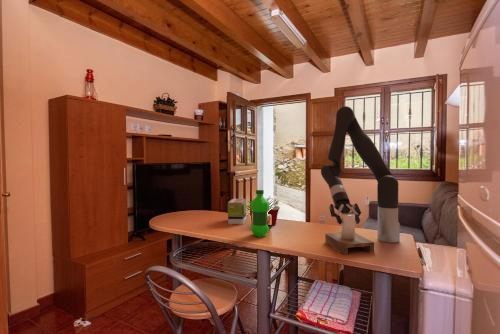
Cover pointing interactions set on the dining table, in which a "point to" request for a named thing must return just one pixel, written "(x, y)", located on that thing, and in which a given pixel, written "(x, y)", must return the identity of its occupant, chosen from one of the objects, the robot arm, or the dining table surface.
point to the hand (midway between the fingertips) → (349, 223)
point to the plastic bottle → (259, 214)
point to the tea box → (237, 211)
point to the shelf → (348, 242)
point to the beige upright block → (348, 226)
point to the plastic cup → (274, 214)
